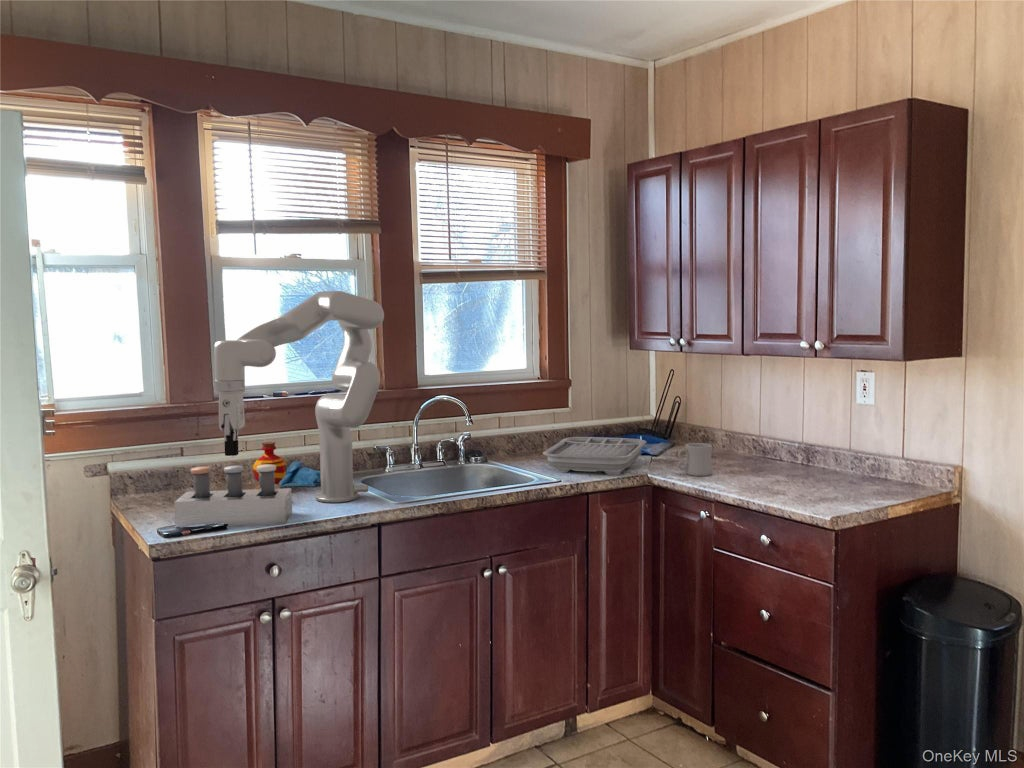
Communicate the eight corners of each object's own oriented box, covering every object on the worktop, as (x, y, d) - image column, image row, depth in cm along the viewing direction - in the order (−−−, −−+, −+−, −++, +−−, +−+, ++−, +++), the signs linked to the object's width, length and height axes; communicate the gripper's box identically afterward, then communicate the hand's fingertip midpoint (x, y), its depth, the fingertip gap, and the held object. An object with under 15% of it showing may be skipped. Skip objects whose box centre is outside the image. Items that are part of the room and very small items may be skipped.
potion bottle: (250, 488, 260) (248, 441, 258) (283, 485, 265) (282, 439, 263) (256, 495, 251) (254, 446, 249) (290, 491, 255) (289, 443, 254)
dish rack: (537, 474, 280) (537, 451, 279) (567, 455, 314) (567, 435, 313) (629, 480, 269) (629, 456, 268) (649, 460, 303) (649, 439, 303)
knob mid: (246, 494, 223) (245, 465, 222) (242, 498, 218) (241, 468, 217) (227, 494, 222) (226, 465, 221) (223, 499, 217) (222, 469, 216)
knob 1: (214, 495, 222) (212, 466, 221) (209, 499, 217) (208, 469, 216) (194, 496, 221) (193, 466, 220) (189, 500, 216) (188, 470, 215)
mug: (704, 470, 282) (704, 442, 281) (717, 475, 274) (717, 446, 273) (671, 472, 279) (671, 443, 278) (683, 478, 270) (683, 448, 269)
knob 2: (278, 493, 224) (277, 464, 223) (275, 497, 219) (274, 467, 218) (259, 493, 223) (258, 464, 222) (256, 497, 218) (255, 468, 218)
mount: (292, 512, 228) (291, 488, 228) (285, 523, 216) (284, 497, 216) (187, 516, 225) (186, 491, 224) (175, 528, 213) (174, 501, 212)
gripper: (238, 389, 210) (240, 459, 212) (250, 384, 225) (251, 450, 226) (208, 389, 209) (210, 460, 211) (221, 384, 224) (223, 451, 226)
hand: (231, 455), depth 219 cm, fingers closed
